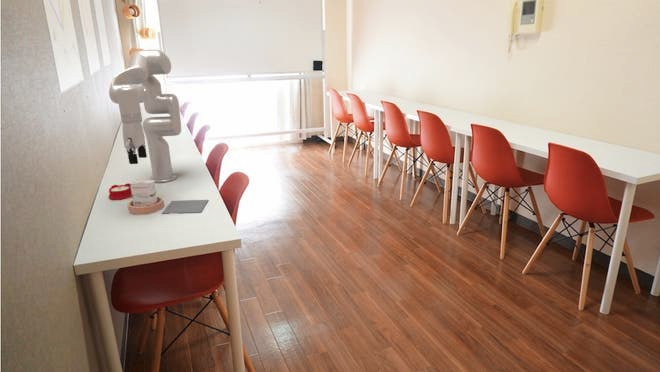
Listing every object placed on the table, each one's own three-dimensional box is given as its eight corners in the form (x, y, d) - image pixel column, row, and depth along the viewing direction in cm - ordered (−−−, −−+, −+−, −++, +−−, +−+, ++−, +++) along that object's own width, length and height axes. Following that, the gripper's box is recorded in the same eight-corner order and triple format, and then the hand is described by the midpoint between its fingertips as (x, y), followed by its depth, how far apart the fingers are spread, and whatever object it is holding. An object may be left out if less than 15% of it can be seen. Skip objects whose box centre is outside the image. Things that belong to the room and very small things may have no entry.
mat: (171, 201, 192) (171, 200, 192) (208, 200, 193) (208, 199, 193) (161, 214, 179) (161, 213, 179) (201, 212, 179) (200, 211, 179)
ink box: (158, 205, 188) (154, 179, 184) (154, 210, 183) (150, 183, 179) (138, 206, 188) (133, 180, 184) (133, 210, 183) (129, 184, 179)
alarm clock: (105, 195, 192) (108, 178, 204) (108, 206, 195) (111, 189, 207) (131, 191, 195) (132, 175, 207) (133, 203, 198) (134, 186, 210)
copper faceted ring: (136, 202, 191) (135, 196, 190) (167, 201, 192) (166, 195, 191) (123, 215, 179) (122, 208, 178) (157, 213, 179) (156, 207, 178)
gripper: (130, 115, 181) (137, 155, 186) (112, 122, 164) (120, 166, 170) (148, 114, 181) (154, 155, 186) (132, 122, 165) (139, 166, 170)
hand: (138, 160), depth 178 cm, fingers open, 9 cm apart
